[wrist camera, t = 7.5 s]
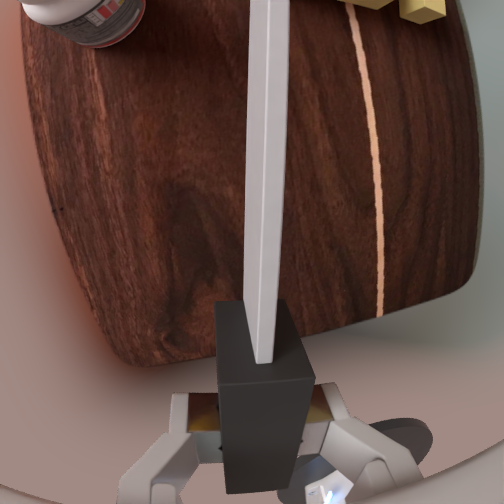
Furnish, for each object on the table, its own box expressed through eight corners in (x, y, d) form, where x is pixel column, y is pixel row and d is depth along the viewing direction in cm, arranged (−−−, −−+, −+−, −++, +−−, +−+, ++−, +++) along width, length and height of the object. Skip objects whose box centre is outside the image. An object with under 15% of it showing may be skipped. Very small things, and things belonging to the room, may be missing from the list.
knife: (297, -1, 7) (345, -59, 3) (272, 418, 12) (288, 489, 9) (216, -7, 6) (221, -76, 3) (220, 421, 12) (226, 494, 9)
